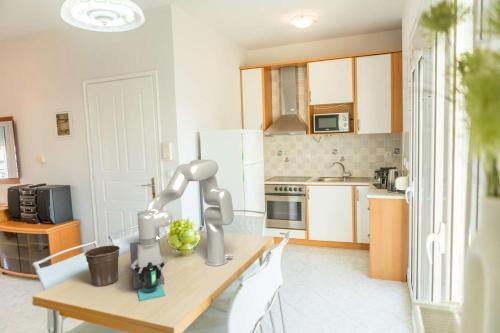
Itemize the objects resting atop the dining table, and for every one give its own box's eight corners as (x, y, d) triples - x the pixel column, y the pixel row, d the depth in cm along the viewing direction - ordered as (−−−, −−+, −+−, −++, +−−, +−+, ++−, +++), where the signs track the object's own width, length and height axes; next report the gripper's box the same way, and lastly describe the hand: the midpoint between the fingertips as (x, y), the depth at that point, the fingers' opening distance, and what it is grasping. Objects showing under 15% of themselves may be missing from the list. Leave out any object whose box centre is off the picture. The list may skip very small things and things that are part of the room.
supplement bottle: (158, 288, 149) (156, 262, 148) (142, 290, 148) (140, 263, 147) (159, 282, 156) (157, 257, 155) (143, 284, 154) (142, 258, 153)
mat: (162, 286, 159) (161, 284, 159) (165, 295, 149) (165, 294, 149) (137, 291, 155) (137, 289, 155) (139, 301, 145) (139, 299, 145)
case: (159, 269, 180) (157, 239, 179) (164, 283, 162) (162, 249, 161) (131, 274, 175) (129, 242, 174) (134, 289, 157) (131, 254, 155)
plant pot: (82, 290, 158) (79, 257, 157) (91, 277, 174) (89, 247, 173) (118, 286, 161) (116, 253, 160) (124, 273, 177) (122, 243, 176)
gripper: (166, 236, 157) (168, 273, 158) (127, 241, 150) (129, 280, 152) (168, 240, 150) (171, 278, 151) (127, 246, 143) (130, 286, 145)
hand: (150, 279), depth 151 cm, fingers closed on supplement bottle, 6 cm apart
